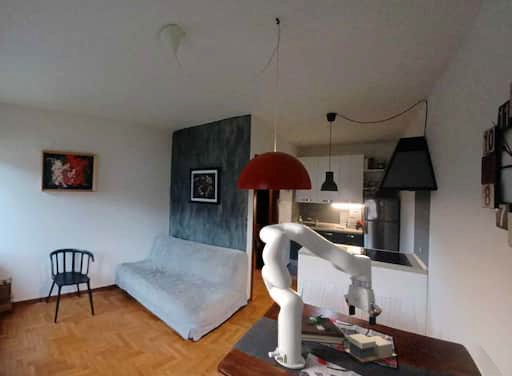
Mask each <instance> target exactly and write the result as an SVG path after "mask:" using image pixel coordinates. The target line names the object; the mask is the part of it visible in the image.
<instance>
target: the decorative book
mask: <svg viewBox="0 0 512 376" xmlns="http://www.w3.org/2000/svg"><path fill="white" fill-rule="evenodd" d="M343 341H345V333H344V332H343V331H342V330H341V329H340V328H339V327H338V326H337V325H336V324H335V322H333V320H332V319H330V318H329V317H325V316H324V314H319V315H317V316H311V315H302V320H301V345H306V344H305V343H304V342H306V343H314V344H324V345H335V346H336V345H338V346H345V344H344V342H343Z"/></svg>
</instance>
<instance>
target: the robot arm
mask: <svg viewBox="0 0 512 376" xmlns="http://www.w3.org/2000/svg"><path fill="white" fill-rule="evenodd" d="M259 238H260V240H261V241H262V243H264V244H265V246H264V248H263V251H262V260H263V263H264V265H263V267H262V269H261V277H262V280H263V282H264V284H265V287H266V290H267V292H268V294H269V296H270V298H271V299H272V300H273V301H274V302H275V303H276V304H277V305H278V306H279V307H280V310H279V313H278V316H277V347H275V350H274V351H269V352H268V356H269V358H274V360H275V361H276V362H277V363H279V364H280V365H281V366H283V367H285V368H288V369H291V370H301V369H303V368H304V367H305V366H306V360H305V358H304V357H303V356H302V344H301V342H302V341H301V320H302V316H303V312H304V306H305V304H304V303H305V302H304V300H303V298H302V296H301V295H300V293H298V292H297V291H296V290H294V289H292V288H291V287H292V283H293V279H292V276H291V273H290V271H289V268H288V266H287V264H286V262H285V259H284V251H285V250H286V247H287V246H288V244H289V240H290V241H294V242H296V243H297V244H299V245H300V246H302V247H303V248H305V249H306V250H308V251H309V252H310V253H312V254H314V256H316V257H319V258H320V259H322V260H325V261H327V262H330V263H331V265H332V267H333V268H334V269H336V270H337V271H339V272H342V273H344V274H347V275H349V276H350V277H349V279H350V280H351V282H350V283H349V285H348V290H347V294H343V297H344V299H345V300H344V301H345V303H346V305H347V307H348V316H351V317H352V316H355V315H356V308H357V309H360V310H362V311H364V312H367V314H368V315H369V316H368V325H369V327H373V326H376V325H377V317H379V316H380V315H381V314H382V313H383V309H382V308H381V307H379V306H378V305H377V303H376V297H375V291H374V288H373V285H372V283H373V279H372V276H373V274H372V259H371V258H370V257H369V256H366V255H361V254H355V255H353V254H352V253H350V252H349V251H347V250H345V249H344V248H342V247H340V246H338V245H336V244H335V243H333V242H331V241H329V240H327V239H326V238H325V237H323V236H322V235H320V234H319V233H317V232H316V231H314V230H313V229H311V228H310V227H308V226H307V225H305V224H303V223H298V222H294V221H293V222H292V221H288V222H282V223H277V224H271V225H266V226H264V227H262V228H261V229H260V231H259Z"/></svg>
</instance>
